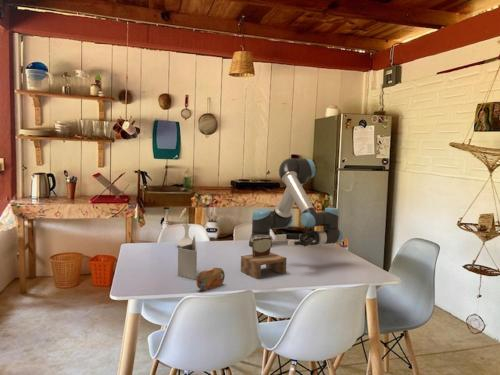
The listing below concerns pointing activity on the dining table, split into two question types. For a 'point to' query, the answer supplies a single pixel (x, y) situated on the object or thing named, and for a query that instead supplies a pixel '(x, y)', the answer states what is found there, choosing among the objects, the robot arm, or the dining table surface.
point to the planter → (187, 260)
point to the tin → (210, 278)
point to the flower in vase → (186, 239)
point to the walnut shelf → (253, 265)
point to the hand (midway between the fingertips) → (281, 240)
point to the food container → (261, 245)
